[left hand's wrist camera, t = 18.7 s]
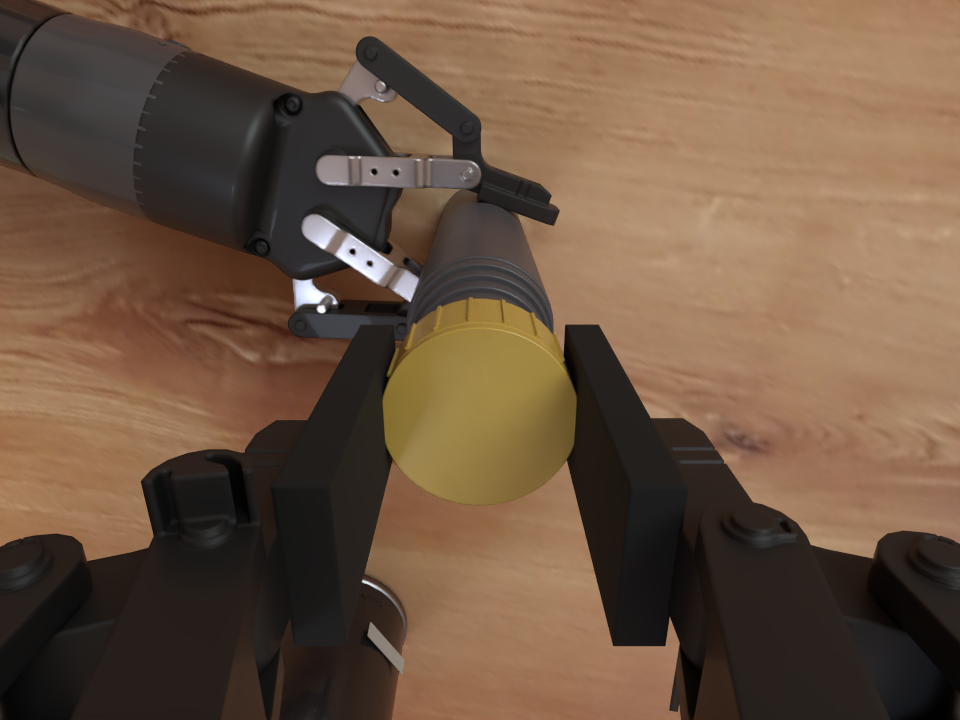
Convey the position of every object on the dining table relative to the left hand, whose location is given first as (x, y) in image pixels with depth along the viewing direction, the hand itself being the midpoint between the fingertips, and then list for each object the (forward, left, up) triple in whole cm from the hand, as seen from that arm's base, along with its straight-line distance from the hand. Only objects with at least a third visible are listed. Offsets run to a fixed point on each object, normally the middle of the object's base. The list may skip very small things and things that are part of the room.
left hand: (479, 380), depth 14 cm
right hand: (-1, -3, -16) cm, 16 cm away
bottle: (0, 0, -22) cm, 22 cm away
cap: (0, 0, +2) cm, 2 cm away
